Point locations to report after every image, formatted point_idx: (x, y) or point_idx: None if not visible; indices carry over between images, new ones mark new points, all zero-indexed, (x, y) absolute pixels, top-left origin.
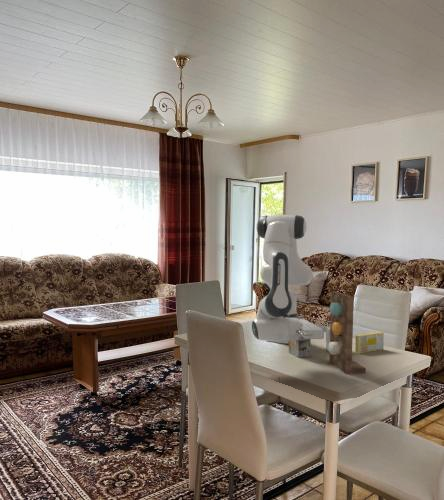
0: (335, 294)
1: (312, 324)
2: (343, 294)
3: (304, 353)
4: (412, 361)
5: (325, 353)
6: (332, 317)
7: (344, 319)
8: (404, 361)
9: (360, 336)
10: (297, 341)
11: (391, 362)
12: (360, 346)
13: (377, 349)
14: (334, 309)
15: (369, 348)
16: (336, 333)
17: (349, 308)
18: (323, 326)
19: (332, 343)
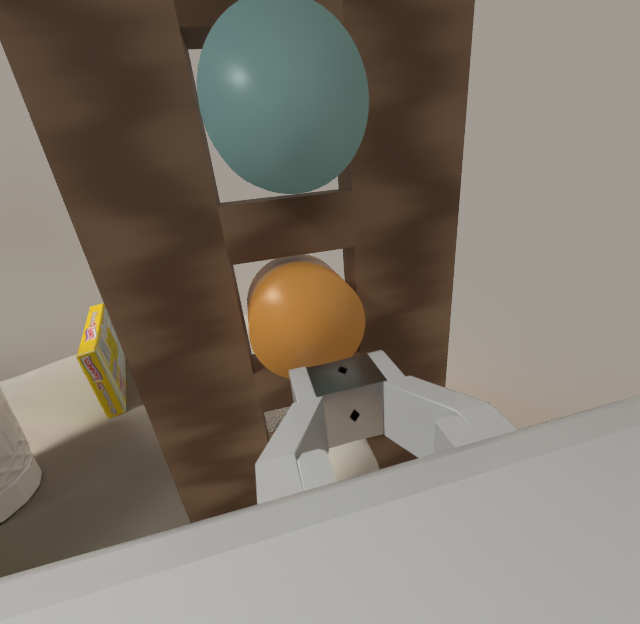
0: None
1: (480, 502)
2: None
3: None
4: (248, 322)
5: (29, 565)
6: (140, 267)
7: (393, 199)
8: (247, 332)
9: (97, 347)
10: None
11: (253, 351)
12: (116, 383)
13: (124, 360)
14: (348, 93)
15: (122, 370)
16: (353, 352)
17: (464, 61)
18: (351, 370)
19: (349, 445)
